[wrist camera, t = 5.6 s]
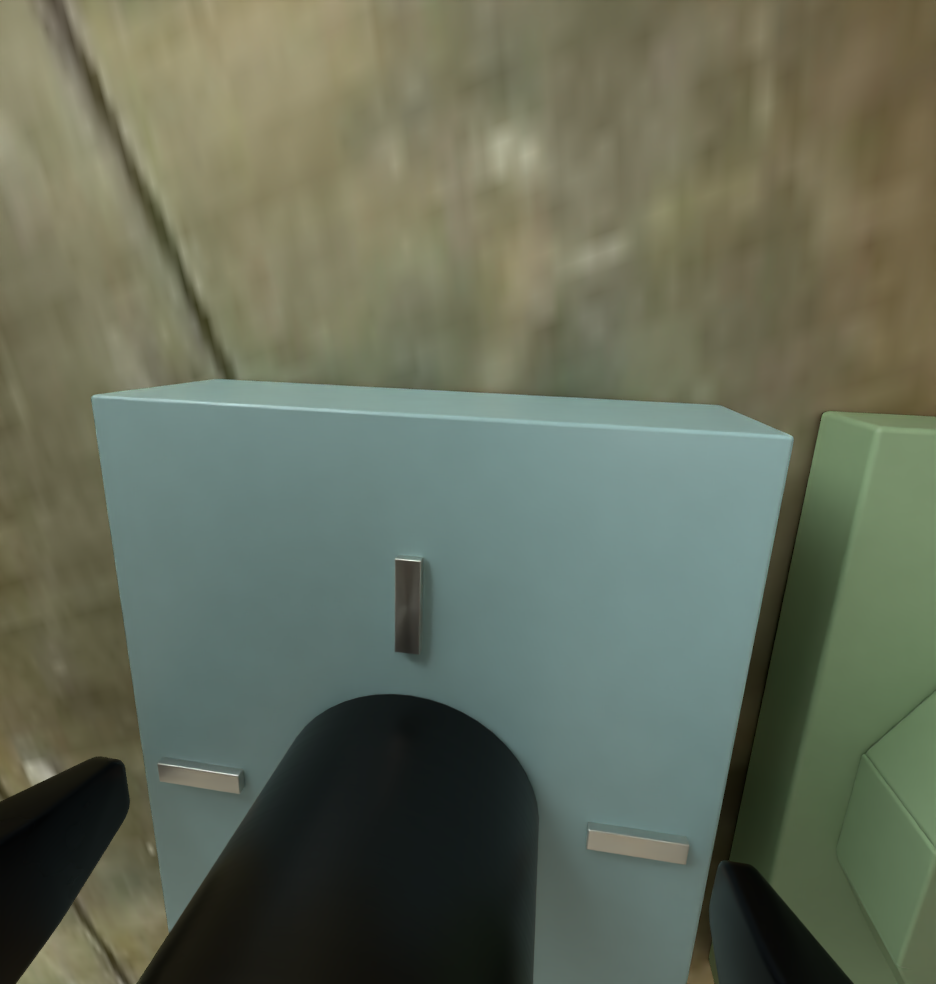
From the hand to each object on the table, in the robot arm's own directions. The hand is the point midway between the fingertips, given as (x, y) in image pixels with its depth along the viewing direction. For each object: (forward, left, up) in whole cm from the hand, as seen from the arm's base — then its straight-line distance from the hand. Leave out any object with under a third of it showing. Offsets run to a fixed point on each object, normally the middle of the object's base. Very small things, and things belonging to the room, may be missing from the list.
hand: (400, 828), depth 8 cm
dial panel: (0, 0, -4) cm, 4 cm away
